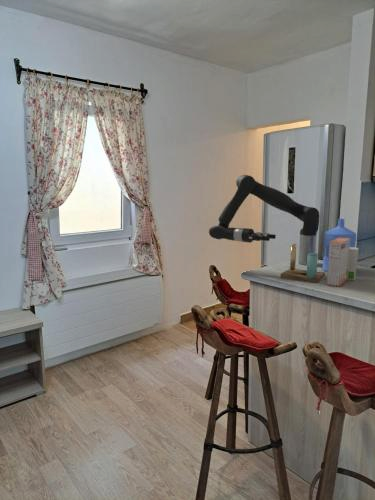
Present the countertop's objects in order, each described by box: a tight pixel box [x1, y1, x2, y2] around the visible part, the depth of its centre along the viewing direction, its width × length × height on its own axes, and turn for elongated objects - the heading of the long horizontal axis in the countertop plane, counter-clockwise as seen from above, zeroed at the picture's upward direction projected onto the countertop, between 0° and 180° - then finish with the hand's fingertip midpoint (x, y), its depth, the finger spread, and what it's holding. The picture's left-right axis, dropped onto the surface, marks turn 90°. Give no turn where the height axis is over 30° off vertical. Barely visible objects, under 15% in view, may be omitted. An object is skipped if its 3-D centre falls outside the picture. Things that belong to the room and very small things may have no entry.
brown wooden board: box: [279, 268, 326, 284], centre depth 182 cm, size 15×18×2 cm
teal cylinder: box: [306, 252, 319, 278], centre depth 174 cm, size 5×5×12 cm
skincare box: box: [347, 246, 359, 281], centre depth 179 cm, size 8×7×16 cm
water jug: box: [322, 218, 357, 273], centre depth 193 cm, size 16×16×28 cm
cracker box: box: [327, 238, 351, 287], centre depth 170 cm, size 14×6×21 cm, turn 141°
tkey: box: [289, 243, 307, 274], centre depth 181 cm, size 5×10×14 cm, turn 56°
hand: (272, 237), depth 187 cm, fingers open, 8 cm apart
